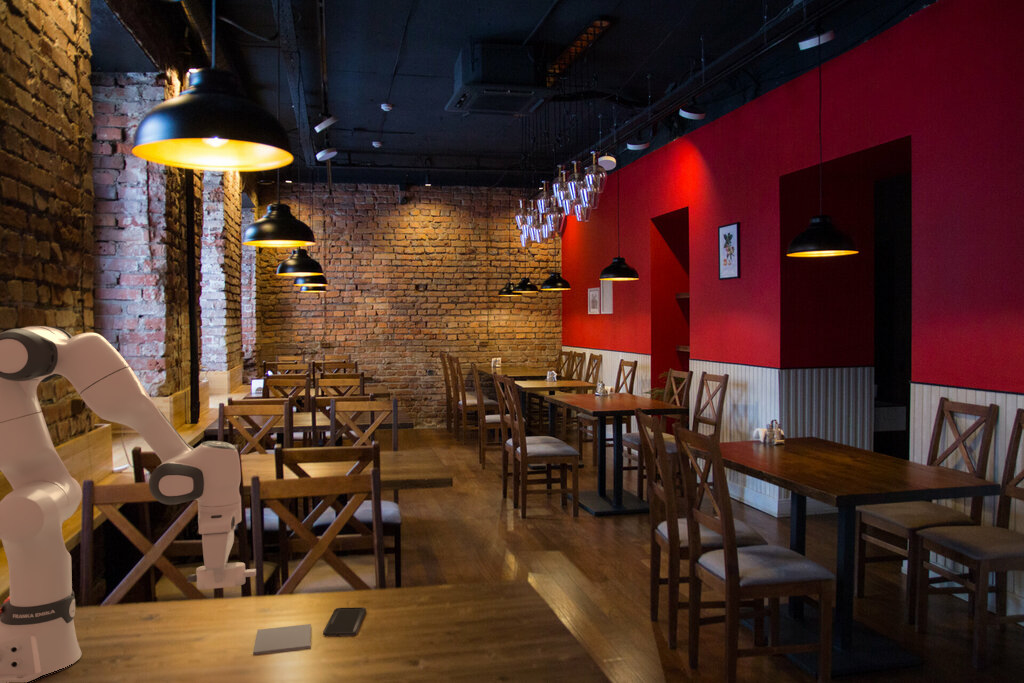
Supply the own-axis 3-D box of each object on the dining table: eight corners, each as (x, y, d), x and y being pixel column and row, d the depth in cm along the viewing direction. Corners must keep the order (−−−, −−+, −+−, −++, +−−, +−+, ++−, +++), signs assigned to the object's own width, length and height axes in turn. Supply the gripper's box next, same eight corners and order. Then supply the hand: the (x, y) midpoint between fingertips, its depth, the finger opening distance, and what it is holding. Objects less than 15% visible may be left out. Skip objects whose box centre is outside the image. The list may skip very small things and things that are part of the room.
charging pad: (253, 654, 156) (253, 652, 156) (257, 632, 168) (257, 629, 167) (310, 648, 159) (310, 645, 159) (310, 626, 171) (310, 623, 171)
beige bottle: (186, 591, 154) (185, 572, 154) (189, 584, 158) (189, 566, 158) (255, 584, 158) (254, 566, 158) (256, 578, 162) (256, 560, 161)
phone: (366, 607, 180) (355, 632, 165) (366, 611, 180) (355, 637, 165) (335, 607, 180) (321, 633, 165) (335, 612, 180) (321, 638, 165)
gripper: (211, 504, 167) (212, 563, 167) (197, 528, 147) (198, 595, 147) (240, 502, 168) (241, 561, 169) (229, 526, 148) (231, 592, 149)
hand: (221, 577), depth 158 cm, fingers closed on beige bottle, 4 cm apart
